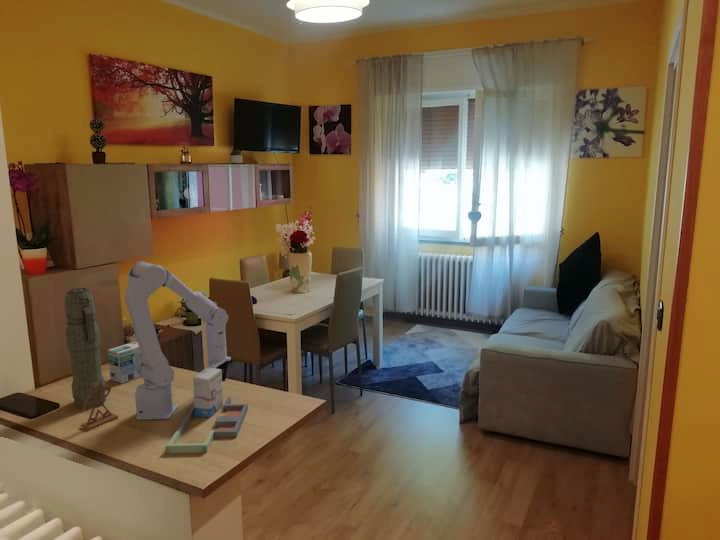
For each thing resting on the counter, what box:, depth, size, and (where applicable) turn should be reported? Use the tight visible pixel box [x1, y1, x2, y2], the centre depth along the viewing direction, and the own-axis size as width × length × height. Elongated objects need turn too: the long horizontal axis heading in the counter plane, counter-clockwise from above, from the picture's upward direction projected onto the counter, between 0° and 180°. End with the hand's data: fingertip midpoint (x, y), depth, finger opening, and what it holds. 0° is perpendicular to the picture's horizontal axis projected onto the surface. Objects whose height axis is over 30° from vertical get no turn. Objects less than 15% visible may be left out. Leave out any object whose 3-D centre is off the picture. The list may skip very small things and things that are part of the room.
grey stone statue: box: [64, 287, 107, 409], centre depth 159 cm, size 9×12×35 cm
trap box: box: [165, 396, 249, 454], centre depth 147 cm, size 16×30×2 cm, turn 2°
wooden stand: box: [80, 382, 119, 431], centre depth 148 cm, size 9×4×12 cm, turn 148°
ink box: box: [192, 367, 224, 419], centre depth 155 cm, size 9×5×12 cm, turn 168°
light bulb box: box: [107, 341, 142, 384], centre depth 181 cm, size 11×7×11 cm, turn 147°
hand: (219, 385), depth 168 cm, fingers open, 7 cm apart
